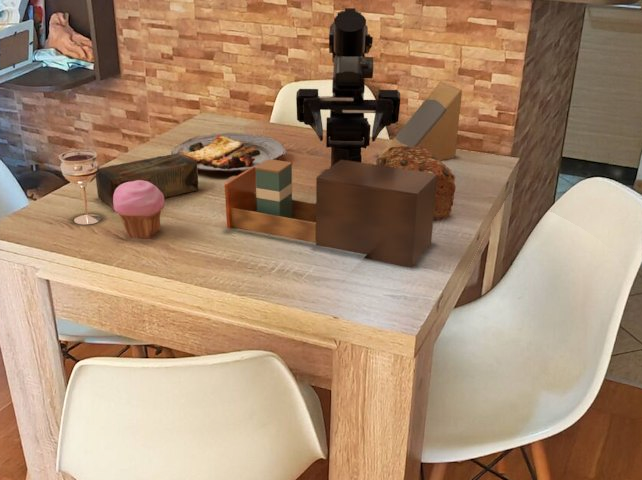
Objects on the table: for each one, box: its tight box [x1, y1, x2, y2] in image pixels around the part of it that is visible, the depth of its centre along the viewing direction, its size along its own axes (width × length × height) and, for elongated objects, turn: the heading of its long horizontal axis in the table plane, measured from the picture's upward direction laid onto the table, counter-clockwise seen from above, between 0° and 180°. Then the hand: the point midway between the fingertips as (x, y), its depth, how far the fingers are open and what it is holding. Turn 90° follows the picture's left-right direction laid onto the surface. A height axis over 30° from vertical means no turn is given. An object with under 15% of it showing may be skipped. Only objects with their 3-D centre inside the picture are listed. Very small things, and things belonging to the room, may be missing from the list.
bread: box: [375, 146, 457, 220], centre depth 157 cm, size 19×11×10 cm, turn 12°
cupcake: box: [113, 180, 165, 240], centre depth 144 cm, size 9×9×10 cm
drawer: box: [224, 166, 316, 244], centre depth 147 cm, size 19×10×9 cm, turn 65°
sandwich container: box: [378, 80, 463, 161], centre depth 180 cm, size 9×15×15 cm, turn 116°
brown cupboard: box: [315, 160, 437, 268], centre depth 139 cm, size 18×10×13 cm, turn 65°
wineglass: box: [58, 149, 102, 225], centre depth 150 cm, size 7×7×12 cm
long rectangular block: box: [255, 159, 293, 218], centre depth 146 cm, size 5×5×11 cm
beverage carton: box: [95, 153, 199, 210], centre depth 162 cm, size 8×19×7 cm, turn 127°
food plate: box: [170, 132, 287, 174], centre depth 181 cm, size 25×23×4 cm
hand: (347, 139), depth 145 cm, fingers open, 9 cm apart
